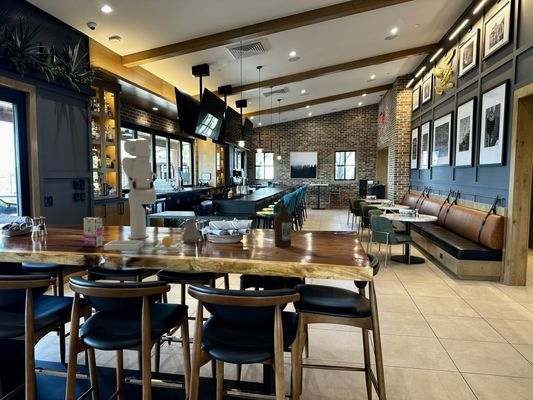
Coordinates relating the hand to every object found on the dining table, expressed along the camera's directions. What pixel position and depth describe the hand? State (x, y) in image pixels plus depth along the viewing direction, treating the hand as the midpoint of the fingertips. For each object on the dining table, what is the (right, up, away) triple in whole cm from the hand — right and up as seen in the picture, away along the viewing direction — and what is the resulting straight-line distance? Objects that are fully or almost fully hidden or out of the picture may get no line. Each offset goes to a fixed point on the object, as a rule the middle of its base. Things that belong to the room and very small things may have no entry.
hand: (143, 188), depth 206 cm
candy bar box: (-28, -34, -3) cm, 44 cm away
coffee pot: (+27, -33, +14) cm, 45 cm away
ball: (+17, -34, -7) cm, 38 cm away
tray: (+17, -34, -7) cm, 39 cm away
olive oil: (+83, -34, -3) cm, 90 cm away
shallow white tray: (-7, -34, -9) cm, 36 cm away
